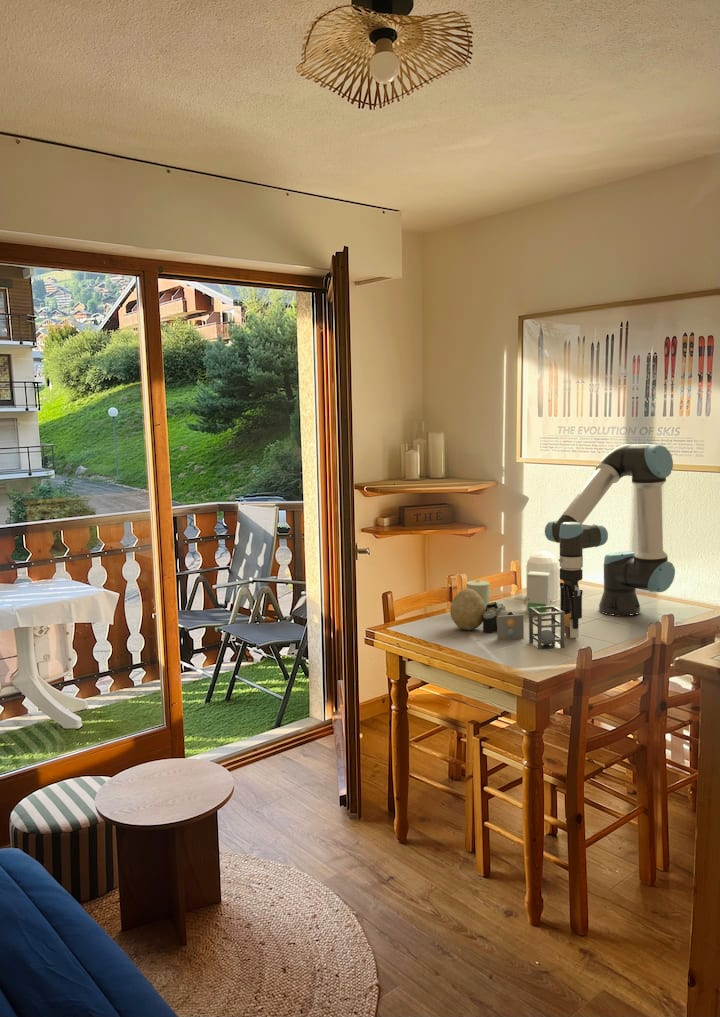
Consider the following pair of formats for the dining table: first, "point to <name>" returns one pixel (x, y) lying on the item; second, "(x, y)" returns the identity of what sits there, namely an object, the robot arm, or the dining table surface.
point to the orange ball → (567, 620)
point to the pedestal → (568, 633)
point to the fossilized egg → (467, 609)
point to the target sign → (510, 627)
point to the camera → (493, 616)
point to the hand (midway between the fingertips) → (570, 635)
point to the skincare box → (538, 590)
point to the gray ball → (547, 636)
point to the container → (546, 570)
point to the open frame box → (560, 624)
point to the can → (481, 589)
